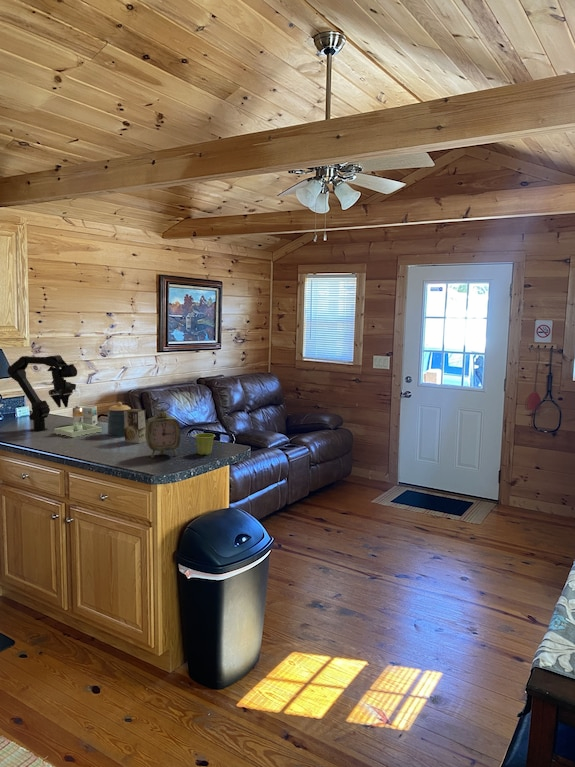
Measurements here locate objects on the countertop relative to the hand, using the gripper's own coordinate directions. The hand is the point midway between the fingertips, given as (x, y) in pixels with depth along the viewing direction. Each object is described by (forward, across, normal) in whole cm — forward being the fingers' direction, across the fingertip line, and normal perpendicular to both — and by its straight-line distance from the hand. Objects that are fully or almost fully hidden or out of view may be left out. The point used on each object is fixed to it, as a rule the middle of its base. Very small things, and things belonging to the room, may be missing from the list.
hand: (62, 407), depth 311 cm
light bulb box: (+13, +11, -16) cm, 23 cm away
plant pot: (+27, -85, -29) cm, 94 cm away
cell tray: (+15, -6, -4) cm, 16 cm away
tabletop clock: (+25, -76, -12) cm, 81 cm away
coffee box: (+21, -43, -17) cm, 51 cm away
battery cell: (+14, -6, -4) cm, 16 cm away
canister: (+18, -24, -19) cm, 35 cm away
